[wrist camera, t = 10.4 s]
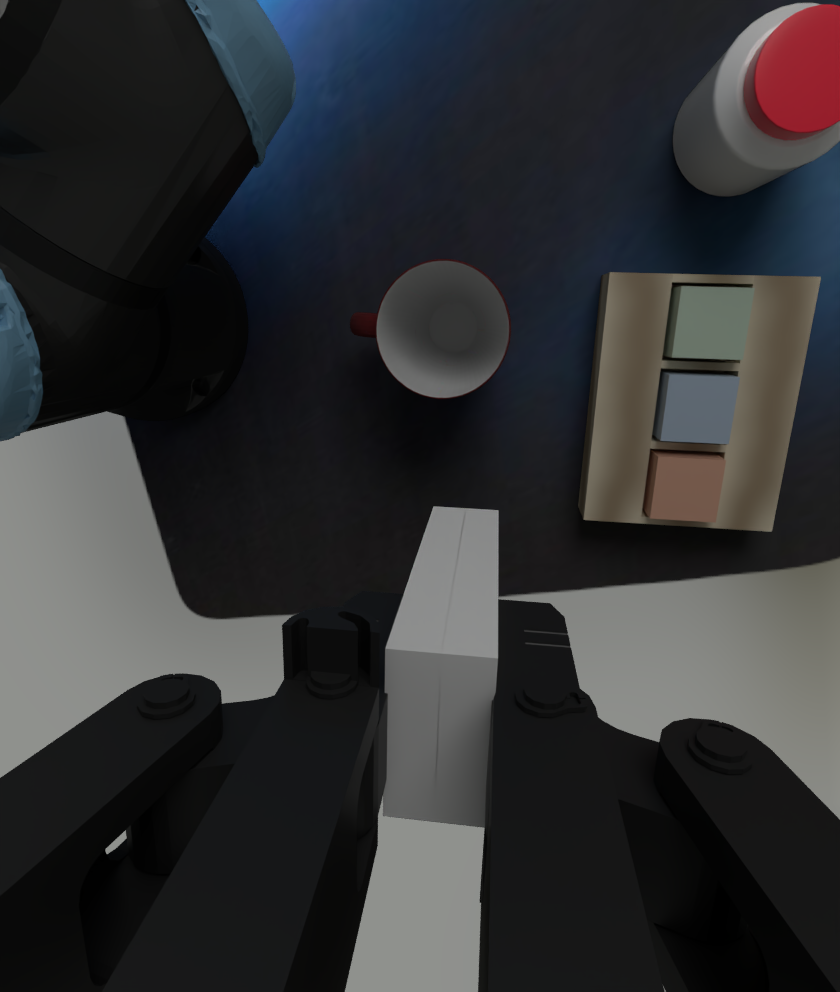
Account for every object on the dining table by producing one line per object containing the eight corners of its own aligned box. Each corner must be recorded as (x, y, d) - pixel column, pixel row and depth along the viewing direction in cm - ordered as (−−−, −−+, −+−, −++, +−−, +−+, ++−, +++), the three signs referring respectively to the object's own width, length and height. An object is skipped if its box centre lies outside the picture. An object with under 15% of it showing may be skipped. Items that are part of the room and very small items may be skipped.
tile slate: (650, 432, 45) (660, 440, 43) (658, 370, 44) (669, 374, 41) (714, 435, 45) (728, 444, 42) (724, 373, 44) (740, 377, 41)
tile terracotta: (640, 506, 47) (650, 518, 44) (648, 448, 46) (658, 456, 43) (702, 509, 47) (715, 522, 44) (711, 451, 45) (726, 460, 42)
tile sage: (660, 354, 44) (671, 357, 41) (669, 288, 43) (681, 286, 40) (726, 356, 43) (742, 359, 41) (737, 289, 42) (754, 287, 39)
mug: (372, 388, 49) (341, 406, 39) (362, 277, 47) (326, 268, 37) (510, 379, 47) (513, 395, 38) (506, 265, 45) (508, 251, 36)
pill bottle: (757, 34, 40) (850, -66, 29) (820, 141, 41) (932, 81, 30) (649, 122, 42) (699, 58, 31) (712, 222, 43) (781, 192, 32)
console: (578, 506, 49) (583, 519, 46) (601, 275, 45) (609, 272, 41) (753, 517, 48) (771, 531, 45) (796, 279, 43) (820, 276, 40)
